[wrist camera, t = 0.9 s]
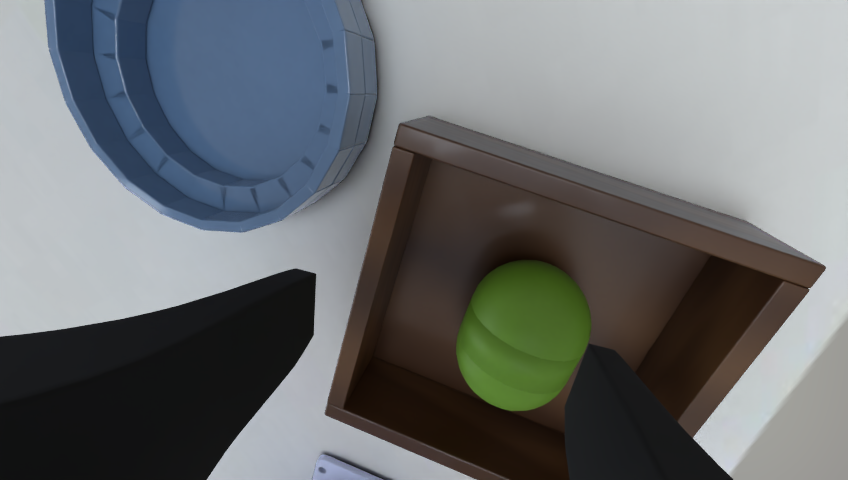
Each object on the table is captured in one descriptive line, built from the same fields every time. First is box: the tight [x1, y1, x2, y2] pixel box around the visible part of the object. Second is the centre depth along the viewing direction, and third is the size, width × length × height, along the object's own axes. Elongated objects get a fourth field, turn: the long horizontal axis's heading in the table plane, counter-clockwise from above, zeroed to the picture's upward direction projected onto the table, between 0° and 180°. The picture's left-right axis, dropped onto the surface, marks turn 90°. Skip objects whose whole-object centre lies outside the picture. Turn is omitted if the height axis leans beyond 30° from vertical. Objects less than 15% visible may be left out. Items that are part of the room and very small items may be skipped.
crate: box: [325, 116, 826, 480], centre depth 17 cm, size 14×14×4 cm
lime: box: [456, 260, 592, 411], centre depth 16 cm, size 6×5×5 cm
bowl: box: [44, 0, 377, 232], centre depth 17 cm, size 13×13×4 cm
